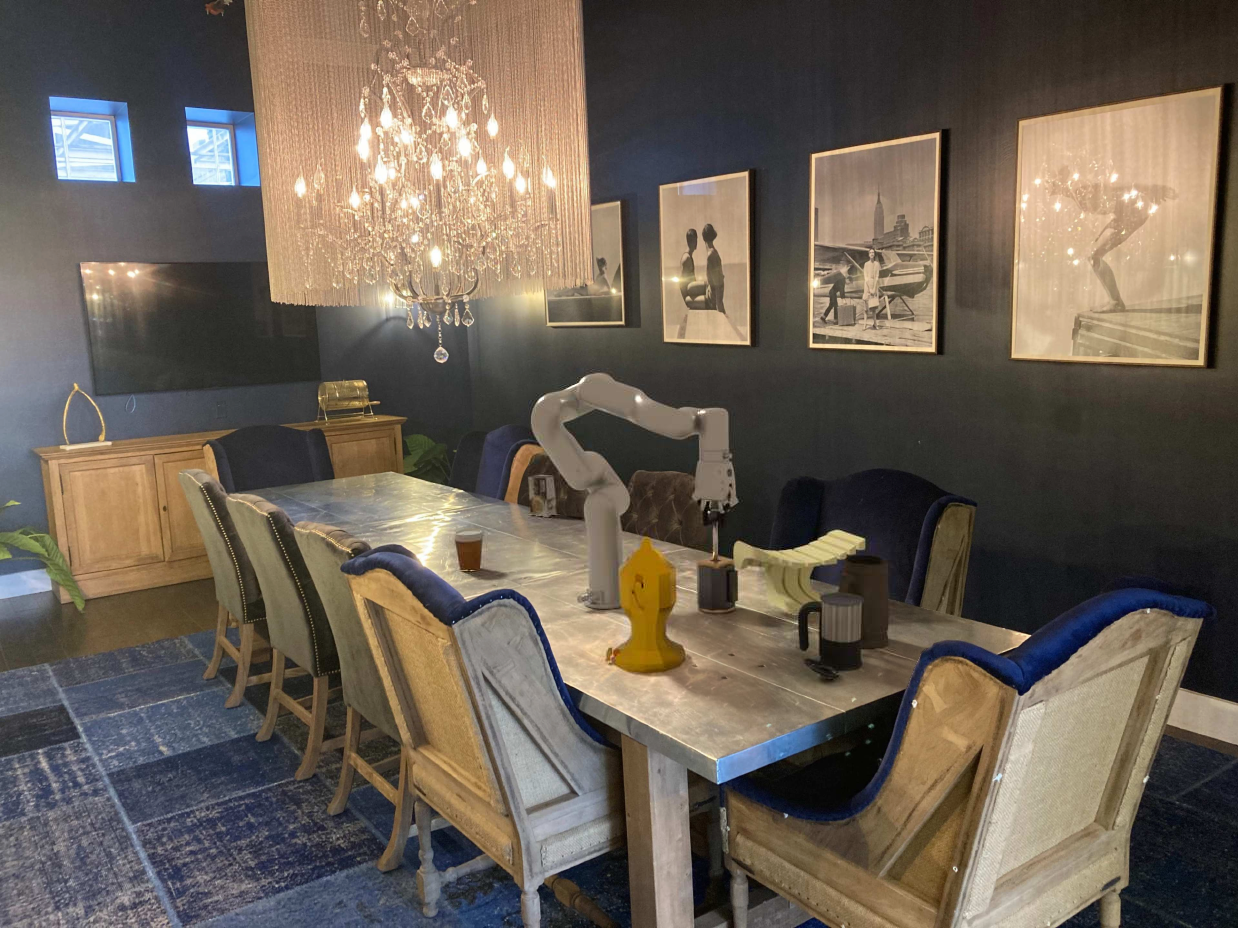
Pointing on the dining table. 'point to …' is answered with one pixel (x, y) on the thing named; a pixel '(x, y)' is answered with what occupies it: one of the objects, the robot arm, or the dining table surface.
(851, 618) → the milk frother
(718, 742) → the dining table surface
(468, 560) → the glass of beer
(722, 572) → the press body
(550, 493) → the coffee box
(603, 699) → the dining table surface
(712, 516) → the plunger
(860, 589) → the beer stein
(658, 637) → the yellow tall piece
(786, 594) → the slatted curved stool
